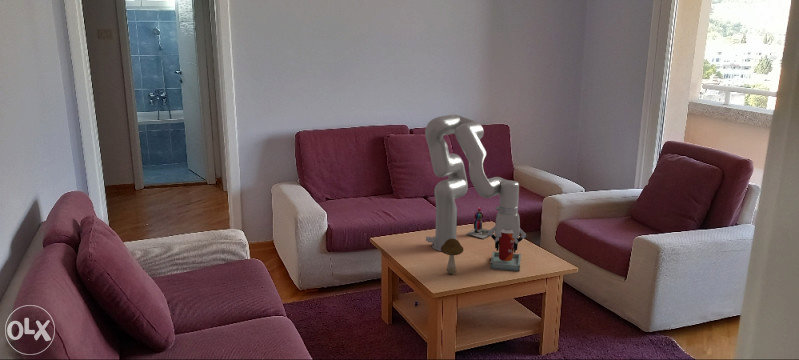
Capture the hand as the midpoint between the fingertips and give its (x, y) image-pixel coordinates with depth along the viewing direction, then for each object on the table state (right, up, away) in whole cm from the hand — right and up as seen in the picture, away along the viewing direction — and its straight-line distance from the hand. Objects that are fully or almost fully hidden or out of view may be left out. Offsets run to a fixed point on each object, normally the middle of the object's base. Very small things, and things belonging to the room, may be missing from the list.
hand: (506, 250), depth 248 cm
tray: (0, -6, +1) cm, 6 cm away
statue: (-5, +3, +39) cm, 39 cm away
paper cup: (0, -4, +1) cm, 4 cm away
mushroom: (-24, -8, -9) cm, 27 cm away
